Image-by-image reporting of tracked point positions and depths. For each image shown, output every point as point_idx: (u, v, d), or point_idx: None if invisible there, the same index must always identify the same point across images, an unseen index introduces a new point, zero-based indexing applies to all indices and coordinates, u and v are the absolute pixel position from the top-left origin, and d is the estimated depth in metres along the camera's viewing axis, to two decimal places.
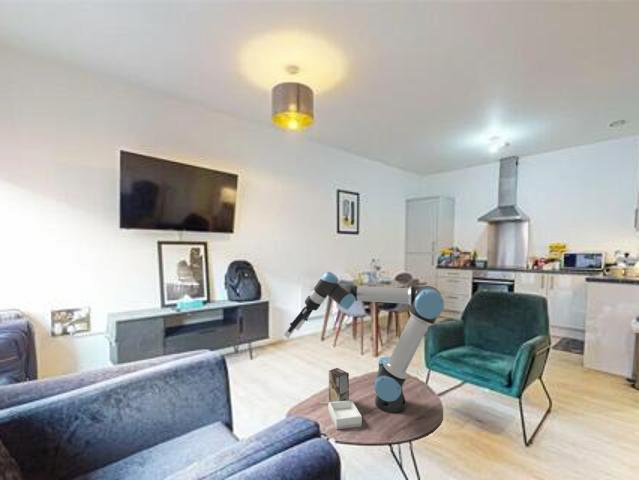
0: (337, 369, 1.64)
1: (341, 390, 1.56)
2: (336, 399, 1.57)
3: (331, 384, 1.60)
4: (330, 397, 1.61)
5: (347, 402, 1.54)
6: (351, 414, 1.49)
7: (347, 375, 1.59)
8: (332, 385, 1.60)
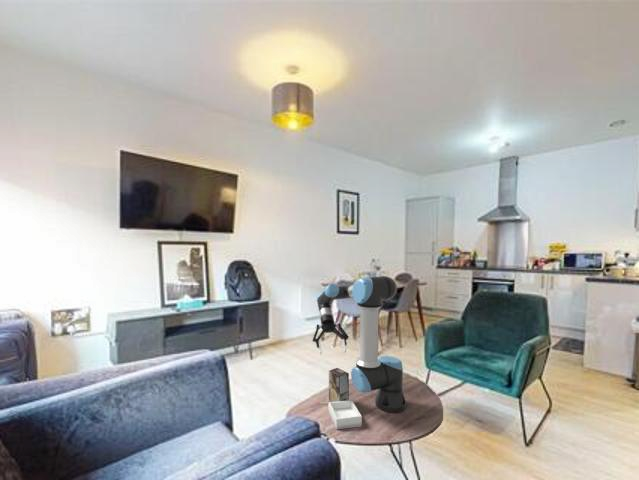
0: (337, 369, 1.64)
1: (341, 390, 1.56)
2: (336, 399, 1.57)
3: (331, 384, 1.60)
4: (330, 397, 1.61)
5: (347, 402, 1.54)
6: (351, 414, 1.49)
7: (347, 375, 1.59)
8: (332, 385, 1.60)
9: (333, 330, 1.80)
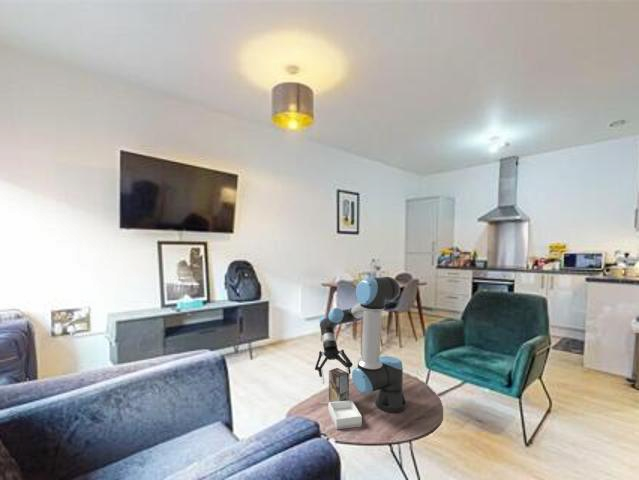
0: (337, 369, 1.64)
1: (341, 390, 1.56)
2: (336, 399, 1.57)
3: (331, 384, 1.60)
4: (330, 397, 1.61)
5: (347, 402, 1.54)
6: (351, 414, 1.49)
7: (347, 375, 1.59)
8: (332, 385, 1.60)
9: (336, 357, 1.73)
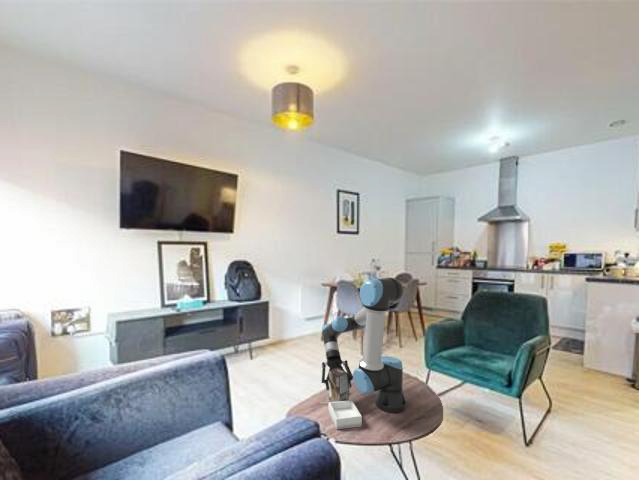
0: (337, 369, 1.64)
1: (341, 390, 1.56)
2: (336, 399, 1.57)
3: (331, 384, 1.60)
4: None
5: (347, 402, 1.54)
6: (351, 414, 1.49)
7: (347, 375, 1.59)
8: (332, 385, 1.60)
9: (339, 367, 1.68)
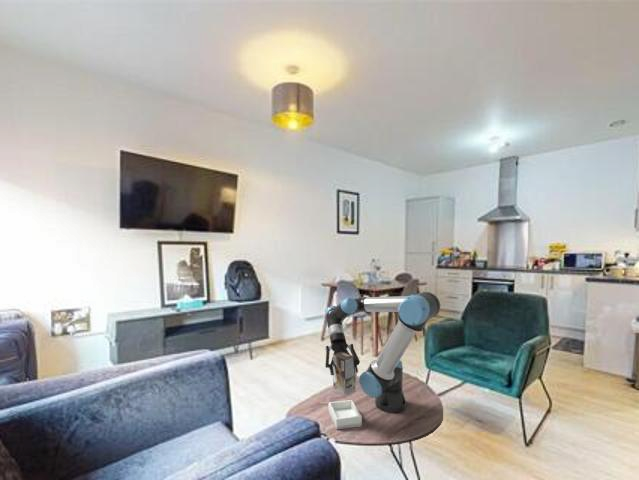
0: (342, 353, 1.51)
1: (347, 375, 1.43)
2: (342, 385, 1.44)
3: (336, 368, 1.47)
4: (335, 383, 1.48)
5: (347, 402, 1.54)
6: (351, 414, 1.49)
7: (353, 359, 1.45)
8: (336, 370, 1.47)
9: (344, 351, 1.54)
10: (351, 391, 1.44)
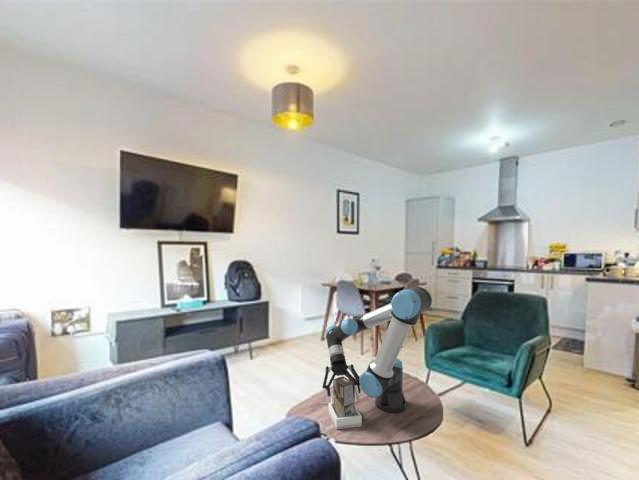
0: (343, 378, 1.51)
1: (346, 401, 1.43)
2: (341, 411, 1.44)
3: (336, 394, 1.47)
4: (335, 408, 1.48)
5: None
6: None
7: (353, 385, 1.45)
8: (336, 395, 1.47)
9: (345, 373, 1.54)
10: None
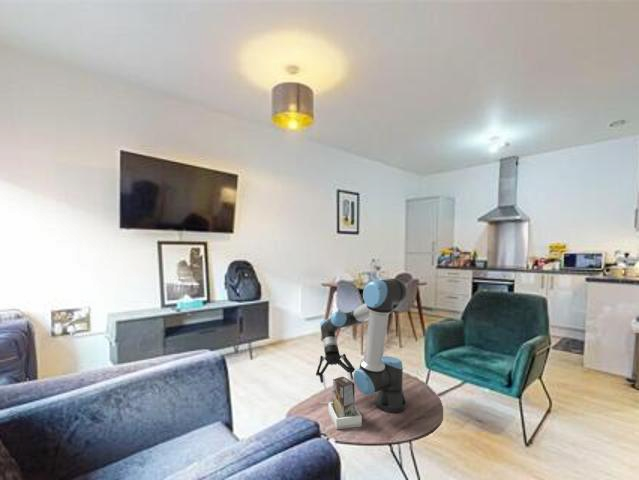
0: (342, 378, 1.51)
1: (345, 401, 1.43)
2: (341, 411, 1.44)
3: (335, 394, 1.47)
4: (335, 408, 1.48)
5: None
6: None
7: (352, 385, 1.45)
8: (336, 396, 1.47)
9: (338, 362, 1.67)
10: None
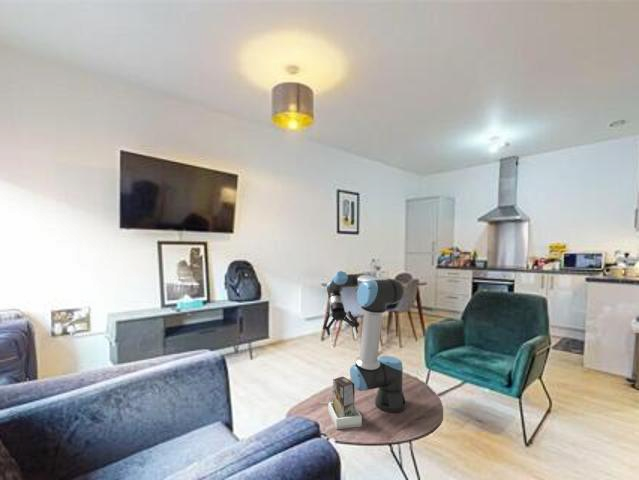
0: (342, 378, 1.51)
1: (345, 401, 1.43)
2: (341, 411, 1.44)
3: (335, 394, 1.47)
4: (335, 408, 1.48)
5: None
6: None
7: (352, 385, 1.45)
8: (336, 396, 1.47)
9: (344, 318, 1.78)
10: None
